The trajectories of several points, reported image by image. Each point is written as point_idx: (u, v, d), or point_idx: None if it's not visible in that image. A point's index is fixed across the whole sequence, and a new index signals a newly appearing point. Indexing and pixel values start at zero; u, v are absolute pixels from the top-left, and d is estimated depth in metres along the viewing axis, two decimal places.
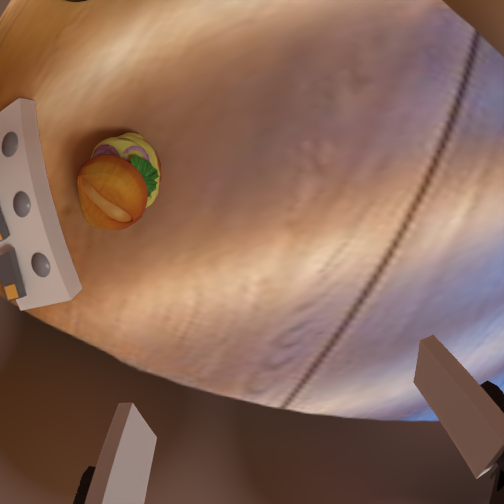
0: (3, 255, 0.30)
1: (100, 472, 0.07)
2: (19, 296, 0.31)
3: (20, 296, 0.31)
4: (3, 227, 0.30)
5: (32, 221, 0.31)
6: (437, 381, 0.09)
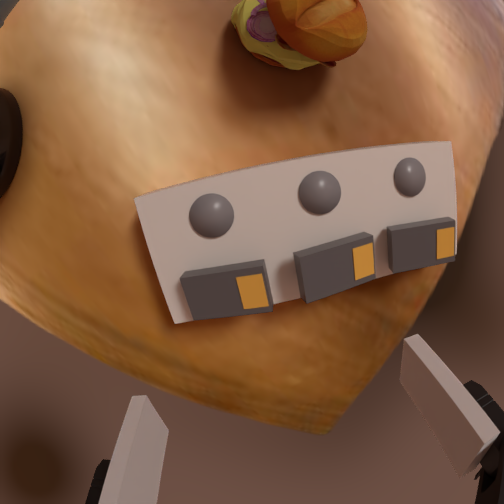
0: (394, 248, 0.23)
1: (115, 464, 0.08)
2: (453, 224, 0.22)
3: (453, 222, 0.22)
4: (353, 237, 0.23)
5: (349, 173, 0.23)
6: (421, 380, 0.10)
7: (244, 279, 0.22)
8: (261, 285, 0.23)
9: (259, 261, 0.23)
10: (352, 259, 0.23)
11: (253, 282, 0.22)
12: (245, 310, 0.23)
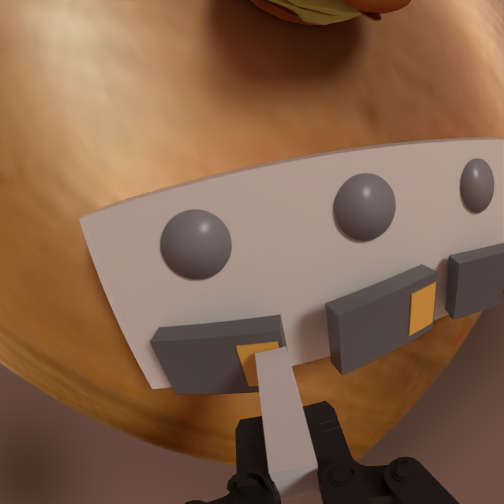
0: (459, 287, 0.15)
1: (270, 415, 0.09)
2: None
3: None
4: (411, 275, 0.15)
5: (406, 177, 0.14)
6: None
7: (249, 349, 0.14)
8: None
9: (273, 319, 0.14)
10: (409, 308, 0.14)
11: None
12: (251, 387, 0.15)
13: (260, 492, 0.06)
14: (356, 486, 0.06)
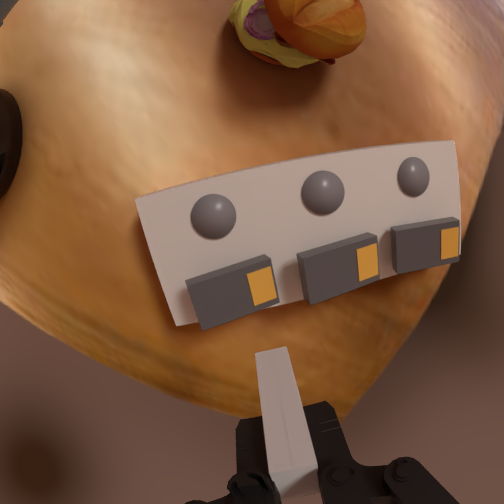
0: (398, 249, 0.23)
1: (270, 415, 0.09)
2: (457, 224, 0.21)
3: (457, 222, 0.21)
4: (357, 238, 0.23)
5: (352, 172, 0.23)
6: None
7: (254, 274, 0.23)
8: (269, 278, 0.23)
9: (261, 256, 0.24)
10: (356, 259, 0.23)
11: (263, 276, 0.23)
12: (255, 307, 0.24)
13: (260, 492, 0.06)
14: (356, 486, 0.06)
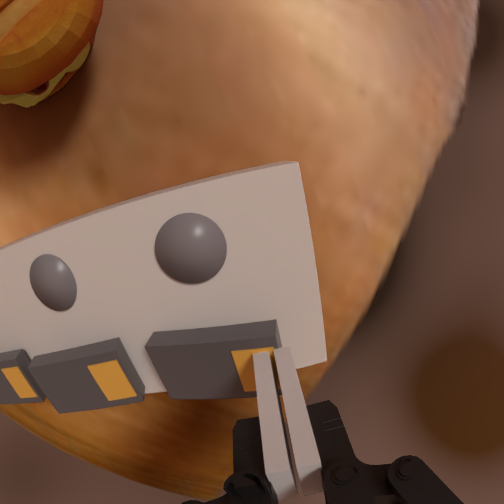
0: (159, 369, 0.14)
1: (267, 416, 0.09)
2: (271, 342, 0.13)
3: (271, 338, 0.13)
4: (94, 348, 0.14)
5: (81, 254, 0.14)
6: None
7: (7, 371, 0.14)
8: (23, 377, 0.14)
9: (17, 351, 0.15)
10: (94, 377, 0.14)
11: (15, 374, 0.14)
12: (22, 399, 0.15)
13: (257, 492, 0.06)
14: (359, 485, 0.06)
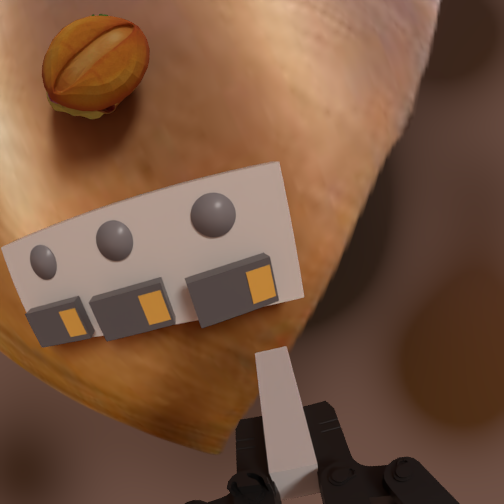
0: (195, 302, 0.22)
1: (270, 415, 0.09)
2: (267, 261, 0.23)
3: (267, 259, 0.23)
4: (143, 284, 0.23)
5: (139, 219, 0.23)
6: None
7: (64, 313, 0.23)
8: (77, 317, 0.23)
9: (74, 298, 0.24)
10: (141, 305, 0.23)
11: (70, 315, 0.23)
12: (72, 338, 0.24)
13: (260, 492, 0.06)
14: (356, 486, 0.06)
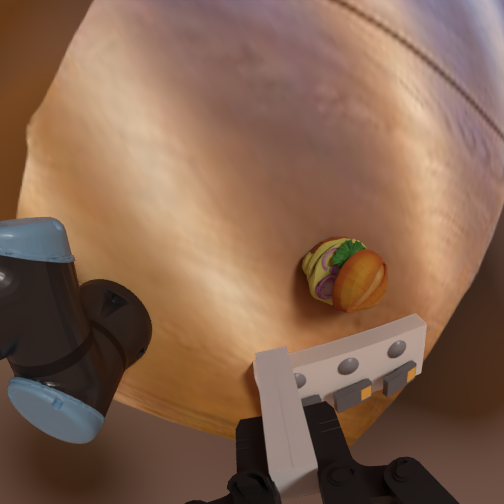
0: (388, 388, 0.42)
1: (270, 415, 0.09)
2: (415, 365, 0.43)
3: (415, 364, 0.43)
4: (362, 383, 0.43)
5: (364, 355, 0.43)
6: None
7: None
8: None
9: (317, 396, 0.44)
10: (361, 393, 0.43)
11: None
12: None
13: (260, 492, 0.06)
14: (356, 486, 0.06)
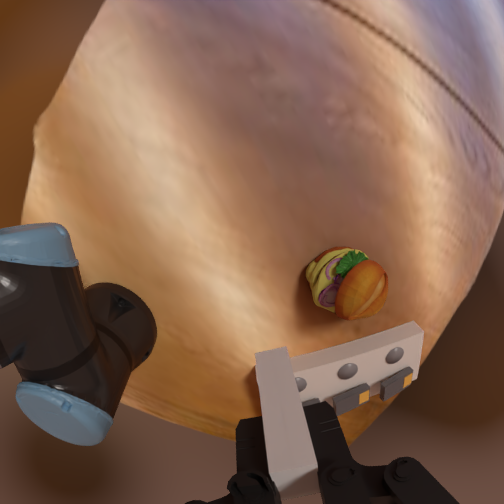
0: (385, 392, 0.43)
1: (270, 415, 0.09)
2: (412, 371, 0.44)
3: (412, 370, 0.44)
4: (360, 388, 0.45)
5: (363, 361, 0.44)
6: None
7: None
8: None
9: (317, 399, 0.45)
10: (359, 397, 0.44)
11: None
12: None
13: (260, 492, 0.06)
14: (356, 486, 0.06)
